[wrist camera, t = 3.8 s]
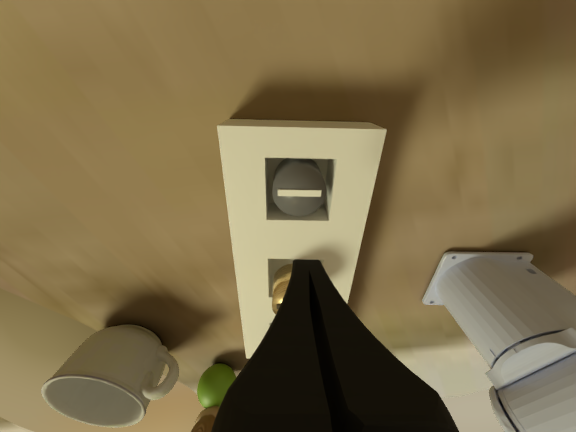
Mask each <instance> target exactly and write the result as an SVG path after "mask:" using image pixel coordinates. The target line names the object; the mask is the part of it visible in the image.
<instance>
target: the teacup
mask: <svg viewBox="0 0 576 432" xmlns="http://www.w3.org/2000/svg"><path fill="white" fill-rule="evenodd" d="M165 364H167V365H168V366H169V372H168V374H167V377H166V378H165V380H164V381H163V382H162V383H161V384H160V385H159V386H157V385H158V383H159V380H160V378H161V376H162V374H163V371H164V368H165ZM178 376H179V366H178V363H177V361H176V360H175V359H174V358H173V357H172V356H171V355H170V354H169V353H168V350H167V348H166V347H165V346H163V345H162V344H161V341H160V339H159V338H158V337H157V335H155V334H154V333H153V332H152V331H150V330H148V329H146V328H144V327H141V326H137V325H127V324H126V325H119V326H113V327H108V328H105V329H102V330H100V331H98V332H96V333H94V334H93V335H91V336H90V337H89V338H88V339H87V340H85V342H83V343H82V345H80V346H79V348H78V349H77V350H76V351H75V352H74V353H73V354H72V355H71V356H70V357H69V358H68V359H67V361H66V362H65V363H64V364H63V365H62V366H61V368H60V369H59V370H58V371H57V372H56V373H55V374H54V375H53V377H52V378H50V379H49V380H48V381H46V382H45V383H44V385H43V387H42V390H41V393H42V396H43V398H44V399H45V401H46V402H47V403H48V404H49V406H50V407H51V408H52V409H54V410H56V411H57V412H59V413H60V414H62V415H64V416H66V417H69V418H71V419H73V420H77V421H79V422H83V423H86V424H90V425H95V426H101V427H125V426H130V425H134V424H136V423H138V422H139V421H140V420H142V419H143V417H144V416H145V413H146V409H147V406H148V404H149V402H150V400H157V399H160V398H162V397H164V396H165V395H166V394H167V393H169V391H170V390H171V389H172V388H173V387H174V385H175V383H176V381H177V379H178Z"/></svg>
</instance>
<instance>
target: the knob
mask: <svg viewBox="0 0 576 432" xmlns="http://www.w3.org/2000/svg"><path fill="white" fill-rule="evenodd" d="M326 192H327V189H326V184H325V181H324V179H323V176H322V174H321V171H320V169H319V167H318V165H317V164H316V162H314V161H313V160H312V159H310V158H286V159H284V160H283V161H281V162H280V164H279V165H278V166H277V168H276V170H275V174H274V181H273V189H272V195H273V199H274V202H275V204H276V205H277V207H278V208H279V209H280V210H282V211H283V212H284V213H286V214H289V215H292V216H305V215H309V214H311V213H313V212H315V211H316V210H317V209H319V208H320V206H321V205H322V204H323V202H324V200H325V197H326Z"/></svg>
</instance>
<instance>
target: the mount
mask: <svg viewBox="0 0 576 432" xmlns="http://www.w3.org/2000/svg"><path fill="white" fill-rule="evenodd" d="M217 129H218V137H219V145H220V153H221V161H222V169H223V177H224V185H225V193H226V201H227V209H228V217H229V225H230V233H231V241H232V249H233V257H234V265H235V273H236V281H237V289H238V297H239V305H240V313H241V321H242V329H243V337H244V345H245V353H246V358H249V359H250V358H251V356H252V355H253V353H254V352H255V350H256V349H257V347H258V346H259V344H260V343H261V341H262V339H263V338H264V336H265V334H266V332H267V331H268V329H269V327H270V325H271V323H272V321H273V319H274V317H275V315H276V314H275V313H274V312H273V310H272V296H273V280H274V275H275V273H276V271H277V270H278V269H279V268H281V267H282V266H284V265H287V264H292V263H293V260H295V259H310V260H320V261H321V263H322V265H323V267H324V269H325V271H326V273H327V274H328V276H329V278H330V280H331V281H332V283H333V284H334V286H335V287H336V289H337V290H338V292H339V294H340V295H341V296H342V298H343V299H344V301H345V302H346V303H348V299H349V294H350V290H351V285H352V281H353V277H354V272H355V268H356V263H357V259H358V255H359V250H360V246H361V241H362V237H363V233H364V228H365V224H366V219H367V215H368V211H369V206H370V202H371V197H372V193H373V189H374V184H375V180H376V175H377V171H378V167H379V162H380V158H381V153H382V149H383V145H384V140H385V136H386V131H387V129H385V128H382V127H380V126H377V125H375V124H373V123H370V122H340V121H297V120H254V119H228V120H226V121H224V122H223V123H221V124H219V125H217ZM286 158H310V159H312V160H313V161H314V162H316V164H317V165H318V167H319V169H320V171H321V174H322V176H323V179H324V181H325V184H326V189H327V192H326V197H325V200H324V202H323V204H322V205H321V206H320V208H319V209H317V210H316V211H315V212H313V213H311V214H309V215H305V216H292V215H289V214H286V213H284V212H283V211H282V210H280V209H279V208H278V207H277V205H276V204H275V202H274V199H273V195H272V189H273V181H274V174H275V170H276V168H277V166H278V165H279V164H280V162H281V161H283V160H284V159H286Z"/></svg>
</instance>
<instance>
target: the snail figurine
mask: <svg viewBox="0 0 576 432" xmlns="http://www.w3.org/2000/svg"><path fill="white" fill-rule="evenodd" d="M235 379H236V376H235V373H234V371H233V370H232V369H231V368H230V367H229V366H228V365H226V364H215V365H213V366H211V367H209V368H208V369H207V370H206V371H205V372H204V373H203V375H202V376H201V378H200V380H199V383H198V388H197V394H198V399H199V401H200V403H201V404H202V406H203V407H204V408H206V409H205V410H203V411H202V412H201V413H200V414H199V416H198V417H197V419H196V421H195V423H196V424H195V426H194V427H193V429H192V431H191V432H211V430H212V427H213V424H214V420H215V418H216V415H217V412H218V410H219V408H220V405H221V403H222V401H223V399H224V396H225V394H226V392H227V390H228V388H229V387H230V386H231V384H232V383H233V381H234V380H235Z"/></svg>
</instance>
